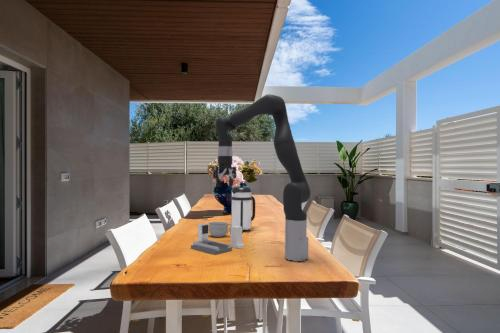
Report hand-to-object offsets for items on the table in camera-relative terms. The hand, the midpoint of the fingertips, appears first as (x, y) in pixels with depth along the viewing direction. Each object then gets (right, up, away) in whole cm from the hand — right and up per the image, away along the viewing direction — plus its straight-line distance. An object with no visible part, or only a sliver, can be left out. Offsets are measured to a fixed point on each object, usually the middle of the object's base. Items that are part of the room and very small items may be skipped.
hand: (224, 186), depth 183 cm
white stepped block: (+6, -29, -9) cm, 31 cm away
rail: (-5, -29, -15) cm, 33 cm away
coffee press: (+8, -29, +35) cm, 47 cm away
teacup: (-4, -29, +16) cm, 34 cm away
